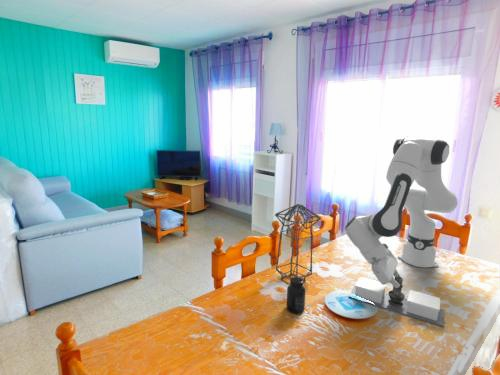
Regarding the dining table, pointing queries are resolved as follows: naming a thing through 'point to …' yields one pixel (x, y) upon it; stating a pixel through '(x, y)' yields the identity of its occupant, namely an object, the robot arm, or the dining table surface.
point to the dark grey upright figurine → (397, 294)
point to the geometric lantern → (297, 236)
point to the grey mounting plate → (413, 306)
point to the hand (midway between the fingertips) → (399, 283)
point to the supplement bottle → (296, 296)
